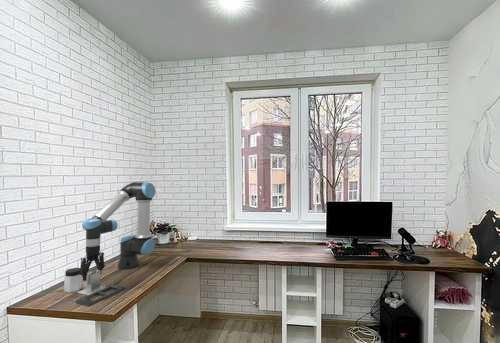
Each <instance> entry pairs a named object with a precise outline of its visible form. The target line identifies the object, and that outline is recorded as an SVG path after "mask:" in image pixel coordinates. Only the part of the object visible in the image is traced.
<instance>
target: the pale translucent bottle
mask: <svg viewBox="0 0 500 343" xmlns="http://www.w3.org/2000/svg"><path fill="white" fill-rule="evenodd" d="M87 275H88V286H84V285H83V289H84V291H88V292H93V291H95V290H98V289H100V286H101V275H100V272H98V271H96V270H95V269H93V270H88V273H87Z"/></svg>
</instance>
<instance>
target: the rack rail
mask: <svg viewBox="0 0 500 343" xmlns="http://www.w3.org/2000/svg"><path fill="white" fill-rule="evenodd" d="M105 287H106V288H104V289H102V290H100V291H97V292H95V293H93V294H90V295H85V296H84V297H81V298H79V299H76V300H75V304H79V305H82V306H86V307H91V306H92V305H95V304H97V303H98V302H100V301H103V300H105V299H107V298H109V297H112V296H114V295H116V294H118V293H120V292H122V291H124V290H126V286H122V285H117V284H112V285H109V286H105ZM109 290H114V291H111V292H109V293H108V292H107V293H106V291H109ZM95 296H101V297H99V298H96V299H91V298H93V297H95Z"/></svg>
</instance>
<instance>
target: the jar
mask: <svg viewBox="0 0 500 343" xmlns="http://www.w3.org/2000/svg"><path fill="white" fill-rule="evenodd" d="M64 274H65V275H64V282H63V283H64V284H63V293H69V294H71V293H75V292H76V293H77V292H78V291H81V289H82V288H83V287H82V286H83V275H80V267H72V268H67V269H66V270H65V272H64Z"/></svg>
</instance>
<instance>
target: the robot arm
mask: <svg viewBox="0 0 500 343" xmlns="http://www.w3.org/2000/svg"><path fill="white" fill-rule="evenodd" d="M155 195H156V186H155V185H154V184H153V183H152V182H148V181H147V182H145V181H135V182H130V183H128V184H127V185H125V186H124V187H122V188H121V189H120V190H119V191H118V192H117V195H115V196H114V197H113V198H112V199H111V200H110V201H108V203H106V205H104V206H103V207H102V208H101V209H100V210H98V212H96V213H95V214H94V216H92V217H91V218H88V219H87V218H86V219H85V220H84V221H83V222H82V225H81V226H82V229H83V230H84V231H86V232H85V253H86V254H85V256H84V257H81V258H80V267H79V268H80V275H82V282H83V287H84V286H88V275H87V273H88V272H89V271H90V267H91V264H92V263H93V262H94V263H95V266H96V268H97V270H95V271H98V272H100V276H102V271H103V270H104V269H105V267H106V266H105V265H106V264H105V258H104V256H105V252H103V251H101V245H100V244H101V235H102V234H105V233H106V234H107V233H112V232H114V231H116V230H117V229H118V226H119V225H118V222H117V220H116V219H109V218H110V217H111V216H112V215H113V214H114V213H115V212H116V211H117V210H118V209H119V208H120V207H121V206H122V205H124V204H125V202H128V201H130V200H131V199H132V198H135V202H136V203H137V228H136V229H137V230H136V231H137V234H130V235H125V236H122V237H121V239H120V245H119V246H120V256H119V259H118V262H117V269H119V270H130V269H134V268H137V267H139V266H140V261H139V257H138V255H142V256H143V255H146V256H147V255H150V254H151V253H152V252H153V251H154V250H155V249H154V248H155V246H156V242H155V239H153V238H152V234H151V233H150V231H151V230H150V229H151V228H150V227H151V225H150V223H151V220H150V217H151V213H150V212H151V211H150V210H151V202H152V201H153V198H154V197H155ZM108 219H109V220H108Z"/></svg>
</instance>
